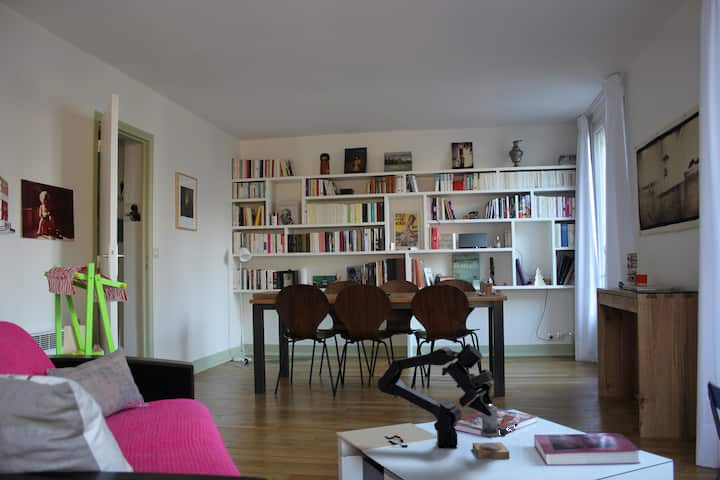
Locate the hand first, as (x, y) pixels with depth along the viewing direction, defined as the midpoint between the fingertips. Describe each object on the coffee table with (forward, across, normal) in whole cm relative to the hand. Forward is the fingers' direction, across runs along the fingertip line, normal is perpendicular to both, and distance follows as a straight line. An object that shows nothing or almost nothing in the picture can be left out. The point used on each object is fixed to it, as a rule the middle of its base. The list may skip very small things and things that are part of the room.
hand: (493, 413), depth 186 cm
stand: (+8, 0, +10) cm, 13 cm away
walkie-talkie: (+5, +30, +15) cm, 34 cm away
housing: (+4, 0, +6) cm, 7 cm away
